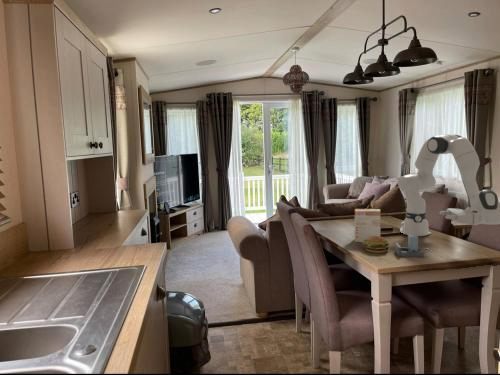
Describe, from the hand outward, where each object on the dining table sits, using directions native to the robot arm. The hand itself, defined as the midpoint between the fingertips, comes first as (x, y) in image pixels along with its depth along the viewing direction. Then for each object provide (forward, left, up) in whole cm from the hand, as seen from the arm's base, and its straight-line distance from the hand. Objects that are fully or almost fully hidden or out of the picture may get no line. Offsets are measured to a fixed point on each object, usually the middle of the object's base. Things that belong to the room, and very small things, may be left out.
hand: (442, 215), depth 206 cm
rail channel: (+3, -16, -21) cm, 27 cm away
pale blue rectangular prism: (+3, -15, -21) cm, 26 cm away
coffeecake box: (-24, -35, -21) cm, 48 cm away
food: (-4, -34, -21) cm, 40 cm away
